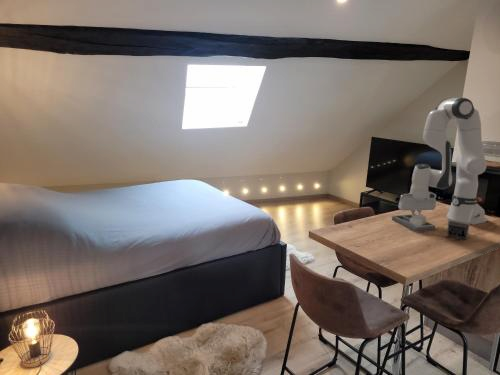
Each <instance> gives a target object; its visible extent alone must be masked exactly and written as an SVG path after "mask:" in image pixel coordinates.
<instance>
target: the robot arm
mask: <svg viewBox="0 0 500 375" xmlns="http://www.w3.org/2000/svg"><path fill="white" fill-rule="evenodd" d="M451 120H456V122H457V140H458V141H457V142H458V147H459V150H460V153H459V154H458V156H457V158H456V172H455V173H456V174H455V176H456V178H455V187H454V192H453V194H452V196H451V197H452V198H451V204H450V207H449V210H448V212H447V214H446V218H447V219H449V220H455V221H461V222H466V223H469V224H470V225H474V226H475V225H479V224H483V223H487V222H486V221H488V222H490V219H489V218H488V217H486V216H485V215H486V212H485V209H484V208H483V207H482V206H481V205H480V204H479V203H478V202H482V198H481V197H477V194H478V189H479V188H478V187H479V180H478V179H479V175H482V174H483V173H485V171H486V169H487V167H488V164H487V161H486V157H485V150H484V146H483V140H482V139H483V138H482V123H481V122H482V121H481V117H480V113H479V110H478V109H476V108H475V107H474V104H473V102H472V100H470V99H469V98H466V97H453V98H447V99H444V100H441V101H440V102H438V103H437V105H436V107H435V109H433V110H431V111H429V113H428V114H427V118H426V119H425V124H424V128H423V133H422V139H423V142H424V143H425V144H426V145H428V146H429V147H430V148H432V149H434V150H436V151H438V152H439V153H440V155H441V170H439V169H434V168H431V165H430V164H427V163H417V164H416V165H415V166H414V169H413V173H412V177H411V186H410V191H409V193H402V194H401V195H400V197H399V202H398V209H399V210H400V211H410V212H411V215H412V217H414V215H415V214H421V213H422V211H434V210H435V209H436V206H437V200H436V198H437V194H436V193H434V192H432V191H430V190H429V187H430V188H436V189H439V190H443V191H444V190H445V189H446V190H447V189H448V188H450V187H451V186H452V183H453V175H452V174H453V173H452V172H453V171H452V145H451V142H450V141H449V140H448V138H447V131H448V130H447V128H448V124H449V122H450V121H451Z"/></svg>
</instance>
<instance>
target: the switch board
mask: <svg viewBox="0 0 500 375" xmlns="http://www.w3.org/2000/svg"><path fill="white" fill-rule="evenodd" d="M411 217H412V213H409V214H399V215H398V214H397V215H392V216H391V220H392V221H393V222H395V223H397V224H399V225H400V226H403V227H404V228H406V229H409V230H410V231H413V232H414V233H417V232H426V231H435V228H436V225H435V224H432V223H430V222H429V221H427V220H426V224H425V225H422V226H417V227H415V226H413V225H411V224H409V222H410V218H411Z"/></svg>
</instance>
